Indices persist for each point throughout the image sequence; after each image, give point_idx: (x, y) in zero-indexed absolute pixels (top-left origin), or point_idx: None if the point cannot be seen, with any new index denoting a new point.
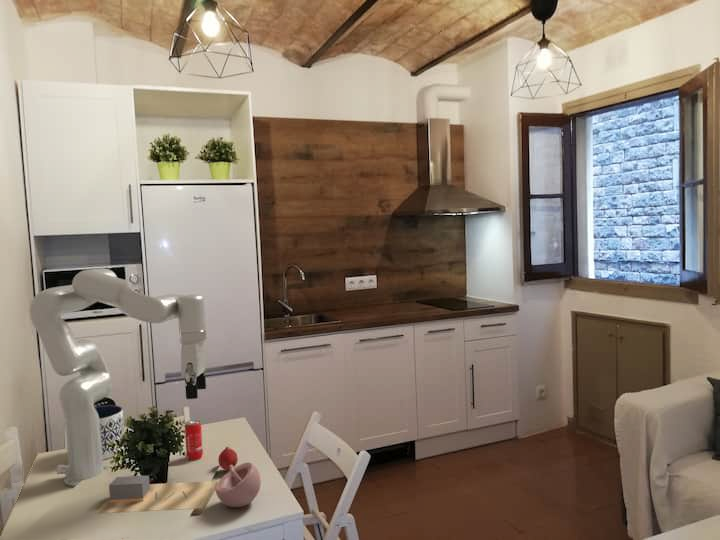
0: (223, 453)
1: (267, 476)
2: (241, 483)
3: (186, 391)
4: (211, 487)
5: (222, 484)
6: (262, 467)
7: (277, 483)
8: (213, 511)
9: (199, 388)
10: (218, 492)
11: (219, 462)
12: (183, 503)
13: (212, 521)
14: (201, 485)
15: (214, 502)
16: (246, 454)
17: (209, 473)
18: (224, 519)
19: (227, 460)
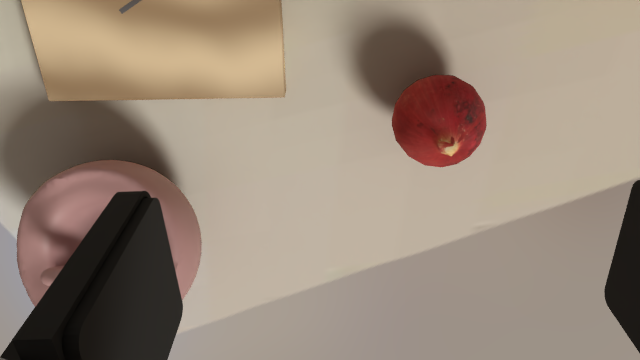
0: (422, 124)
1: (354, 251)
2: (29, 294)
3: (79, 265)
4: (223, 90)
5: (92, 196)
6: (438, 223)
7: (294, 287)
8: (82, 129)
9: (626, 235)
10: (35, 192)
11: (411, 88)
12: (74, 12)
13: (16, 144)
14: (241, 40)
15: (148, 115)
16: (600, 137)
17: (420, 18)
18: (37, 178)
19: (396, 134)
